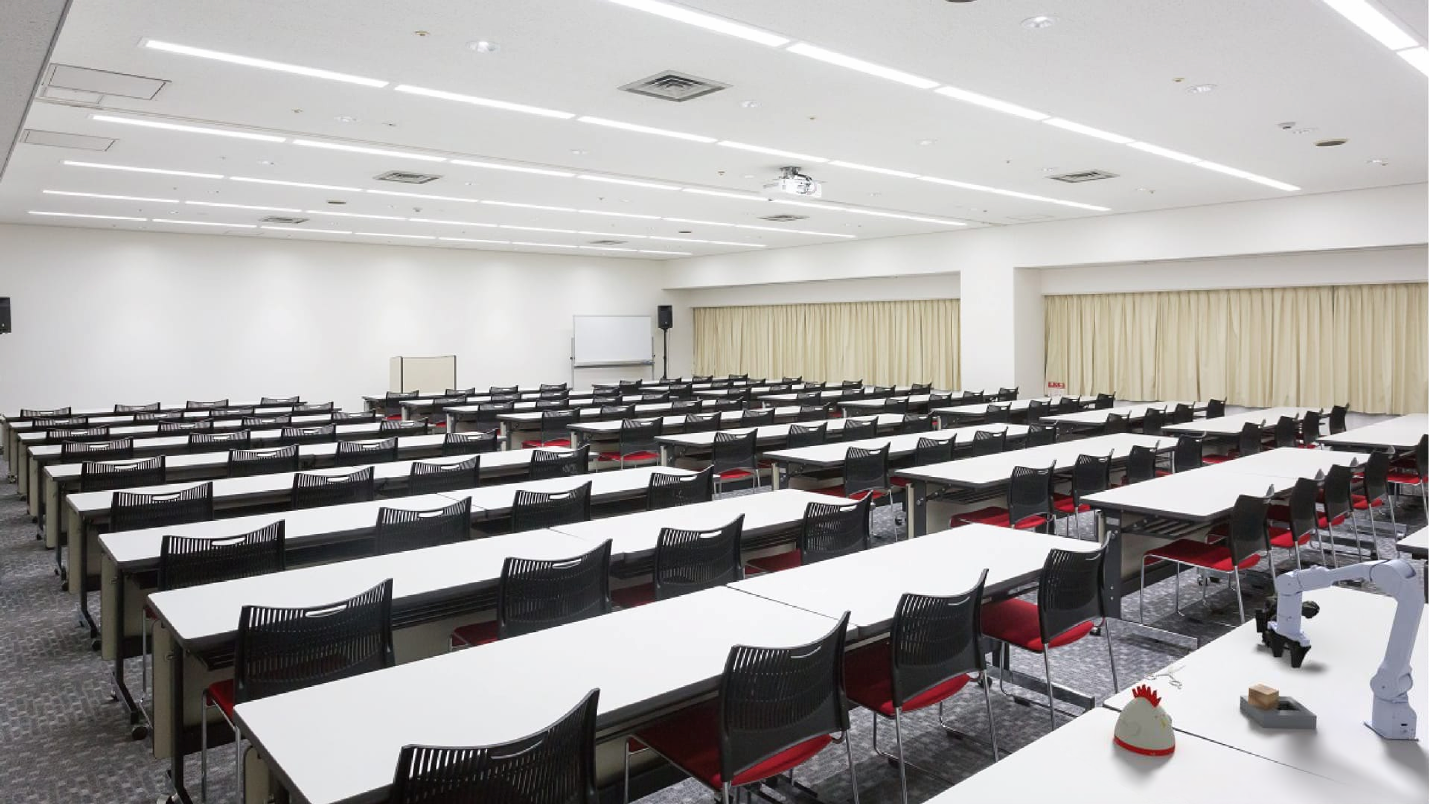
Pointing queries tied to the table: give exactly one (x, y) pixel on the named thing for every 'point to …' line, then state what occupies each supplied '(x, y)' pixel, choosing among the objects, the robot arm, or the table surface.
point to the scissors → (1169, 675)
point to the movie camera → (1270, 615)
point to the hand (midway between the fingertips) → (1286, 662)
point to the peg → (1263, 697)
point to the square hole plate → (1281, 714)
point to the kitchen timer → (1145, 725)
